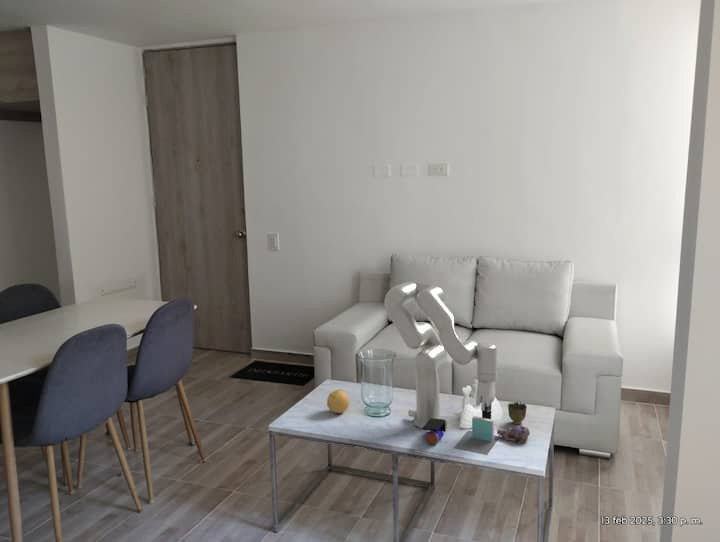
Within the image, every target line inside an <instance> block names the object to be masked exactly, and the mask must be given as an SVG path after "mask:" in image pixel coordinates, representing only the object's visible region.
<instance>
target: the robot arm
mask: <svg viewBox="0 0 720 542" xmlns="http://www.w3.org/2000/svg"><path fill="white" fill-rule="evenodd" d="M445 296H446V295H445V292H444V290H443V289H442V288H441V287H439V286H436V285H432V284H428V283H422V282H417V281H405V282H403V283H399V284H398V285H394V286H393V287H391V289H389V290H388V292H387V293H386V295H385V296H384V301H383V302H384V303H383V304H384V305H383V306H384V309H385V312H386V314H387V315H388V317H389V318H390V320H391V321H392V323H393V325H394V327H395V328H396V330H397V332H398V333H399V335H400V337H401V339H402V340H403V343H404V345H405V346H406V347H407V348H408V349H410V350H418V349H421V350H420V351H419V352H418V353H417V354H416V355H415V357H414V360H413V368H414V369H413V370H414V375H415V387H416V388H415V393H416V397H415V399H416V403H415V405H416V407H415V408H416V409H415V410H414V409H408V412H407V413H408V417H413V420H412V423H413V425H414V426H415V427H417V428H420V429H422V428H423V427H424V425H425V424H426V423H427V422H428V421H429V419H430V418H434V419H443V418H442V417H440V415H441V410H440V378H439V377H440V376H439V373H438V369H439V368H440V367H442V366H443V365H444V364H445V363H446V361H447V358H448V355H449V357H450V358H451V359H452V360H453V361H454V362H455V363H456V364H458V365H461V366H466V365H468V364H470V363H471V362H473V361H475V360H476V380H477V387H476V402H475V403H476V406H480V410H481V418H486V419H492V403H493V402H494V401H495V398H496V381H497V377H498V376H497V375H498V373H497V364H498V363H497V361H498V360H497V357H498V356H497V354H498V351H497V346H496V345H495V344H492V343H484V342H479V341H477V340H473V339H469V340H465V341H463V342H462V341H461V340H460V338H459V337H458V335H457V334H456V331H455V316H454V315H453V313H452V312H451V311H450V309H449V308H448V306H446V305H445V303H444V301H445V298H446V297H445ZM412 302H414V303H415V302H416V304H417V306H418V307H419V309H421V311H422V312H423V313H424V315H425V316H426V317H427V319H428V320H429V321H430V323H432V325H433V326H434V327H435V329H436V330H437V332H436V331H435V329H434V328H433V327H432V325H430V324H429V323H427V322H425V321H416V319H415V317H414V316H413V314H412V312H411V311H410V310H409V309H407V307H406V305H407V304H410V303H412Z"/></svg>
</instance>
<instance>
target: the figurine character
mask: <svg viewBox="0 0 720 542" xmlns="http://www.w3.org/2000/svg"><path fill="white" fill-rule="evenodd" d="M447 428H448V421H447V420H446V419H444V418H442V419H434V418H430V419H429V421H428V422H427V423H426V424H425V425H424V427H423V428H421V429H422V430H424V431H426V434H425V438H424V439H425V442H426V444H427V445H429V446H434V445H436V444H437V443H439V439H441V438H442V437H444V434H445V433H446V430H447Z"/></svg>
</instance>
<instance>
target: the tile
mask: <svg viewBox="0 0 720 542" xmlns="http://www.w3.org/2000/svg"><path fill="white" fill-rule="evenodd" d="M471 421H472V422H471V423H472V424H471V431H472V438H477V439H482V440H487V441H493V440H494V435H495V419H492V418H491V419H486V418H482V416H473V417H472V418H471Z"/></svg>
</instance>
